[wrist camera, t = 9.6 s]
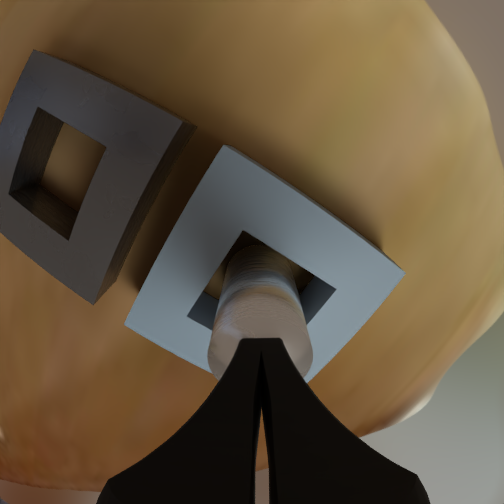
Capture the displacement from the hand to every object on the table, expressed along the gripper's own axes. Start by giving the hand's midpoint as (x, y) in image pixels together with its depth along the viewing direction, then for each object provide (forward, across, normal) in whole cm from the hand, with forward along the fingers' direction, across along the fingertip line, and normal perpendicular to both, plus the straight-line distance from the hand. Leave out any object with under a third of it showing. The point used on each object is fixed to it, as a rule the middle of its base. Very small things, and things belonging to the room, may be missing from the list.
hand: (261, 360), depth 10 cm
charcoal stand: (+7, +10, -7) cm, 14 cm away
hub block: (+7, 0, 0) cm, 7 cm away
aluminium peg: (+7, 0, 0) cm, 7 cm away
